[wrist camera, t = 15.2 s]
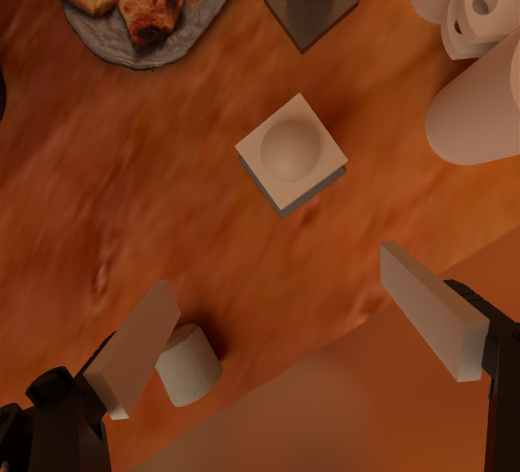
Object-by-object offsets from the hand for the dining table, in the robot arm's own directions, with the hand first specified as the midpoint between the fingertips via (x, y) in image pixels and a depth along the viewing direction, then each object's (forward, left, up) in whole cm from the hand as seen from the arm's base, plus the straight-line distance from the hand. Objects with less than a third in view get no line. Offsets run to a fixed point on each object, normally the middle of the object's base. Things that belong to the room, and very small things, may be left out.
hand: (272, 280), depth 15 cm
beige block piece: (-7, +6, -19) cm, 21 cm away
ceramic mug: (+6, -22, -19) cm, 30 cm away
